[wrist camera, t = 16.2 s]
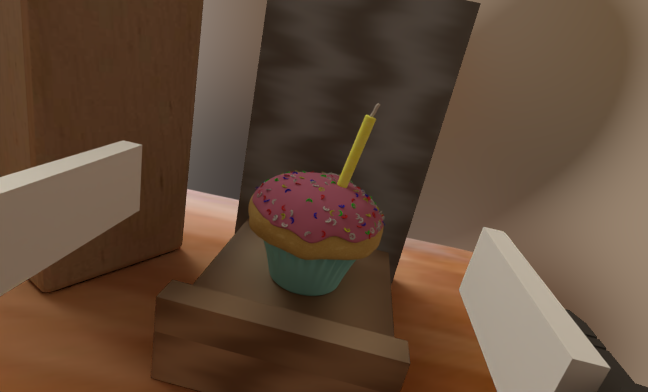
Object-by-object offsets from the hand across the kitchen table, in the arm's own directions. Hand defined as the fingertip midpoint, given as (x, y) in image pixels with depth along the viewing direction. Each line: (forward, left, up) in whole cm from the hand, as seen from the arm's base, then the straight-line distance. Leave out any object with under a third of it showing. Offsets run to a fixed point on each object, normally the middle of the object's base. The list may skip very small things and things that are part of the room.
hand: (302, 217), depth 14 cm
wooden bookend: (0, +9, -11) cm, 14 cm away
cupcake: (0, +9, -8) cm, 12 cm away
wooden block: (-17, +11, -11) cm, 23 cm away
